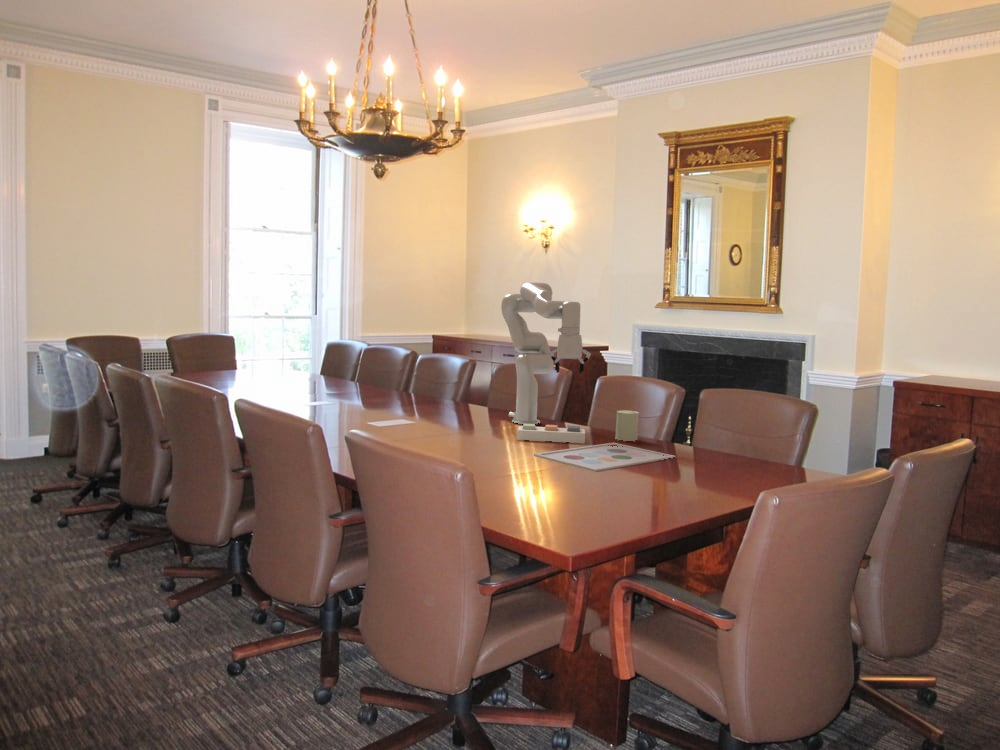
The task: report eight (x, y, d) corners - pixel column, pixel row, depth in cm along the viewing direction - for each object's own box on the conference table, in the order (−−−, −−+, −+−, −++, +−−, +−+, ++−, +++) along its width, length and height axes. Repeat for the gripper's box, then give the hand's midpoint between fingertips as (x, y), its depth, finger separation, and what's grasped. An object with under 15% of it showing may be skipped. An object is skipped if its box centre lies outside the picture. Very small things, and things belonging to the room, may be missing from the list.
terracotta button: (545, 435, 337) (545, 426, 336) (545, 433, 341) (545, 424, 341) (557, 435, 336) (557, 427, 336) (557, 433, 341) (557, 425, 341)
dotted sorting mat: (533, 453, 305) (613, 442, 333) (533, 457, 305) (613, 445, 333) (595, 469, 282) (675, 455, 310) (595, 473, 282) (675, 459, 310)
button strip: (517, 440, 335) (517, 430, 334) (518, 435, 345) (518, 425, 345) (584, 443, 333) (585, 433, 332) (584, 438, 344) (584, 428, 343)
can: (631, 442, 338) (633, 413, 337) (611, 439, 343) (612, 410, 342) (641, 439, 346) (642, 410, 345) (621, 436, 351) (622, 408, 350)
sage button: (522, 434, 337) (523, 425, 337) (523, 432, 342) (523, 423, 342) (534, 434, 337) (535, 426, 337) (535, 432, 342) (535, 424, 341)
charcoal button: (567, 436, 336) (567, 427, 336) (567, 434, 341) (567, 425, 340) (579, 436, 336) (579, 428, 335) (579, 434, 340) (579, 426, 340)
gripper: (548, 331, 344) (547, 372, 346) (590, 332, 341) (589, 374, 342) (551, 330, 352) (550, 371, 353) (592, 332, 348) (591, 373, 349)
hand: (569, 372), depth 348 cm, fingers open, 9 cm apart
